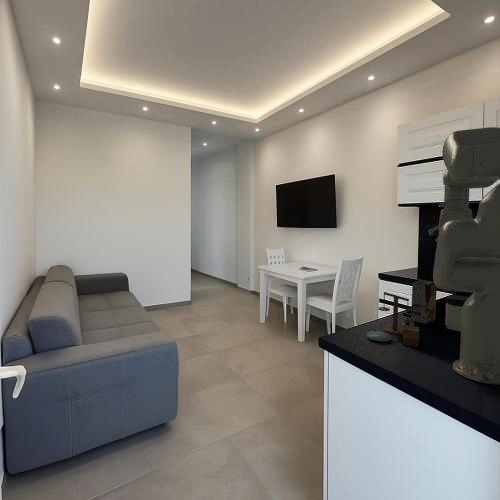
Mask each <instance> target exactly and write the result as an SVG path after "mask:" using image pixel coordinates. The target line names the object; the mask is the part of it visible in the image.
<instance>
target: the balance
mask: <svg viewBox="0 0 500 500" xmlns="http://www.w3.org/2000/svg"><path fill="white" fill-rule="evenodd" d="M385 296H389V297H392V298H393V309H392V311H393V312H392V326H385V327H384V328H383V332H385V333H388V334H390V335H391V334H392V335H396V336H397V335H398V336H402V337H403V328H404V325H408V326H414V324H413V323H411V319H409V303H407V308H406V309H407V311H406V318H404V322H402V323H400V324H401V325H400V326H401V327H403V328H399V327H398V324H399V323H398V322H399V300H402V301H406V302H409V300H410V298H407V297H403V296H401V295H396V294H393V293H389V292H387V291H384V292H383V306H379V307H378V310H379V311H381V312H390V311H391V308H390V307H385V301H386V297H385Z"/></svg>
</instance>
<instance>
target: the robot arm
mask: <svg viewBox="0 0 500 500" xmlns="http://www.w3.org/2000/svg"><path fill="white" fill-rule="evenodd" d="M441 153H442V160H443V163H444V165H445V167H446V170H445V172H444V173H443V175H442V183H443V185H444V196H443V202H440V203H439V204H438V205H439V207H440V208H443V209H441V210H440V214H439V222H438V225H436V226H434V227H431V228H430V229H428V230H427V233H428V234H429V236H430V238H432V239H433V241H435V255H434V256H435V257H434V264H433V270H432V272H433V273H432V277H433V278H432V279H433V282H434V283H435V285H436V287H437V289H439V290H441V291H447V292H461V293H471V295H470V296H469V298H468V299H467V300H466V302H465V303H464V305H463V308H462V322H461V332H460V346H459V359H457V360H454V361H453V363H452V369H453V370H454V372H456V374H459V375H460V376H462V377H464V378H466V379H469V380H471V381H474V382H477V383H481V384H487V385H488V384H489V385H496V386H497V385H500V183H498V184H496V185H495V186H494V187H492V189H490V190H489V191H488V192H487V193H486V194H485V195H484V196H483V197H482V198H481V200H480V202H479V204H478V210H477V215H476V217H475V218H473V212H472V208H470V207H469V206H470V189H484V188H489V187H491V186H492V185H494V184H495V183H496V182H497V181H499V180H500V127H495V126H492V127H489V126H488V127H479V128H470V129H462V130H461V129H459V130H456V131H453V132H451V133H450V134H449V135H448V136H447V137H446V138H445V140H444V142H443V146H442V152H441ZM437 230H438V236H436V235H435V234H434V232H435V231H437Z"/></svg>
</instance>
